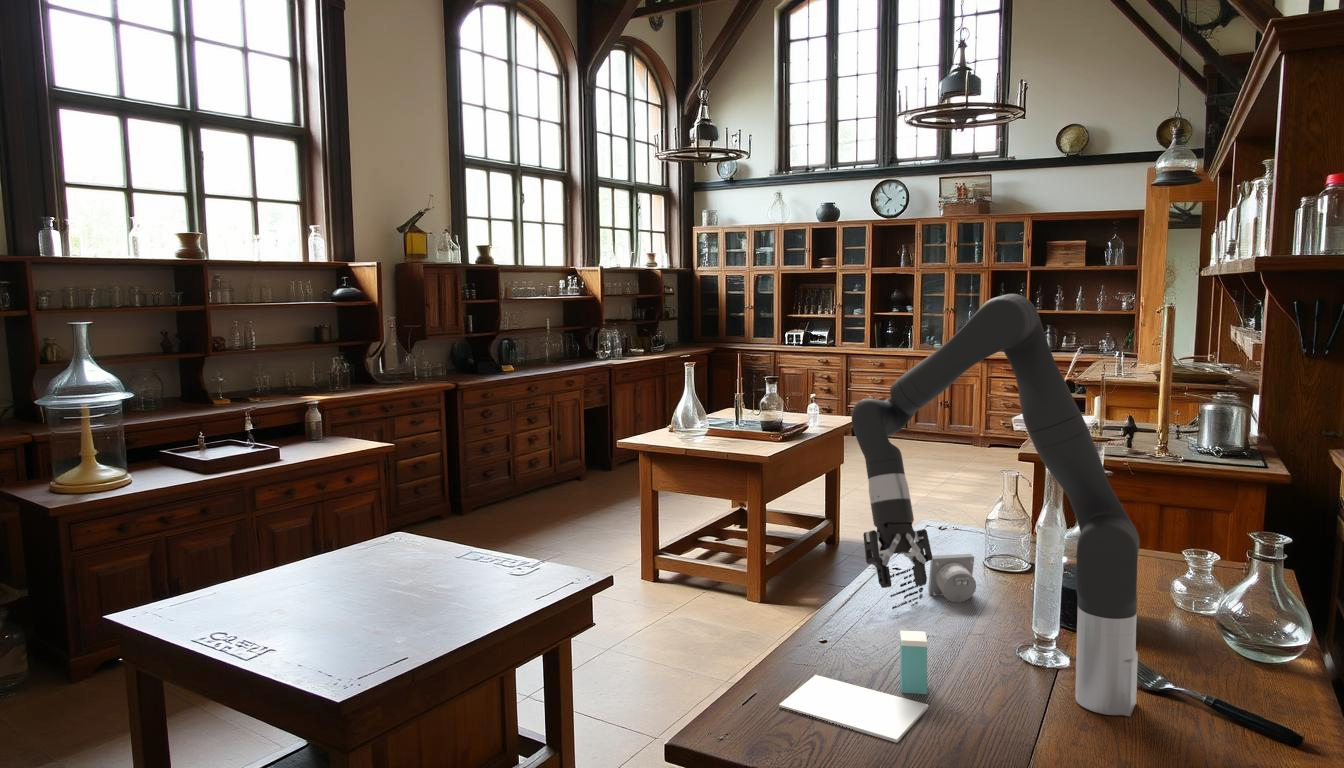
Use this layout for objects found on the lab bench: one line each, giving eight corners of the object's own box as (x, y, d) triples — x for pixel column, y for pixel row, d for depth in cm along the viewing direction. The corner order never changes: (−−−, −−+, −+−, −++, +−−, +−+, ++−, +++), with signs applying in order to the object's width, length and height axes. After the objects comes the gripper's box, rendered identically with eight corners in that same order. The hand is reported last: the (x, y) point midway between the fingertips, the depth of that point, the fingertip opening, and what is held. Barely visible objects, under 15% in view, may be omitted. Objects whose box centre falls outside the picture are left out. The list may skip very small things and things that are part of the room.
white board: (928, 707, 155) (928, 704, 155) (897, 742, 144) (897, 739, 144) (815, 677, 168) (815, 674, 168) (779, 707, 157) (779, 704, 157)
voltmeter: (947, 585, 215) (947, 546, 214) (989, 597, 207) (989, 556, 205) (877, 613, 199) (877, 571, 198) (920, 628, 190) (920, 584, 189)
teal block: (925, 683, 165) (925, 631, 164) (927, 694, 160) (927, 641, 159) (900, 681, 166) (900, 630, 165) (901, 692, 161) (901, 640, 160)
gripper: (874, 496, 163) (888, 586, 158) (931, 496, 170) (946, 582, 165) (848, 504, 169) (861, 590, 165) (905, 503, 176) (918, 586, 171)
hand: (904, 586), depth 165 cm, fingers open, 8 cm apart
